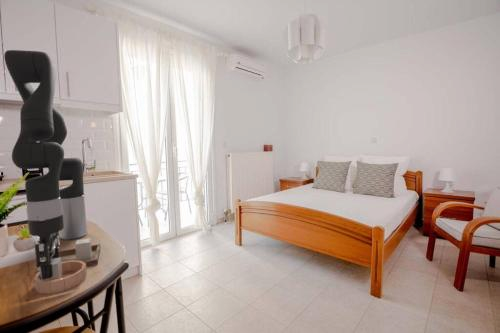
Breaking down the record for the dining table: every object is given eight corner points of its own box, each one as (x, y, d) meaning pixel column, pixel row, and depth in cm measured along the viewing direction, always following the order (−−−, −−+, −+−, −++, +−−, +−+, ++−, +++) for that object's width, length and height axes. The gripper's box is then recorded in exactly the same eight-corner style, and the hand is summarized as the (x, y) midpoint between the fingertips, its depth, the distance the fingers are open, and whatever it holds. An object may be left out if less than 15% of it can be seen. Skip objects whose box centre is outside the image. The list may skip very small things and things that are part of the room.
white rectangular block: (78, 256, 86) (76, 240, 85) (92, 254, 88) (90, 238, 87) (76, 261, 82) (75, 244, 82) (90, 259, 84) (89, 242, 83)
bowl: (42, 277, 74) (41, 266, 74) (88, 267, 79) (87, 257, 79) (30, 299, 64) (28, 286, 63) (83, 286, 69) (82, 275, 69)
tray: (48, 258, 86) (47, 252, 85) (100, 248, 93) (100, 243, 93) (36, 277, 74) (35, 271, 74) (97, 265, 81) (97, 259, 81)
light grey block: (45, 280, 71) (43, 260, 71) (62, 276, 73) (60, 257, 73) (41, 287, 68) (39, 266, 67) (60, 283, 70) (57, 263, 69)
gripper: (35, 210, 73) (41, 262, 75) (18, 225, 60) (25, 287, 62) (67, 206, 76) (71, 256, 78) (56, 220, 64) (62, 279, 65)
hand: (51, 270), depth 70 cm, fingers open, 8 cm apart
